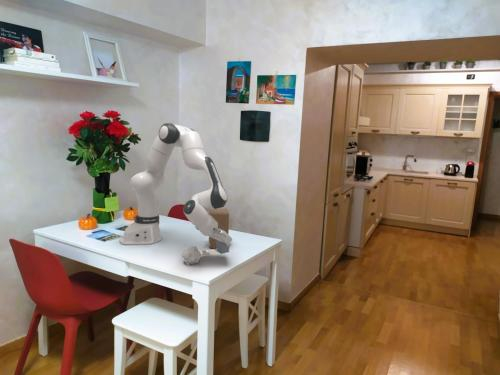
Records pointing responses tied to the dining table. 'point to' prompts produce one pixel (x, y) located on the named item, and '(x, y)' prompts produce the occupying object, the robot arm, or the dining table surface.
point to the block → (219, 223)
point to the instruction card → (208, 253)
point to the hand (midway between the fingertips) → (224, 242)
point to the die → (191, 255)
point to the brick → (222, 247)
